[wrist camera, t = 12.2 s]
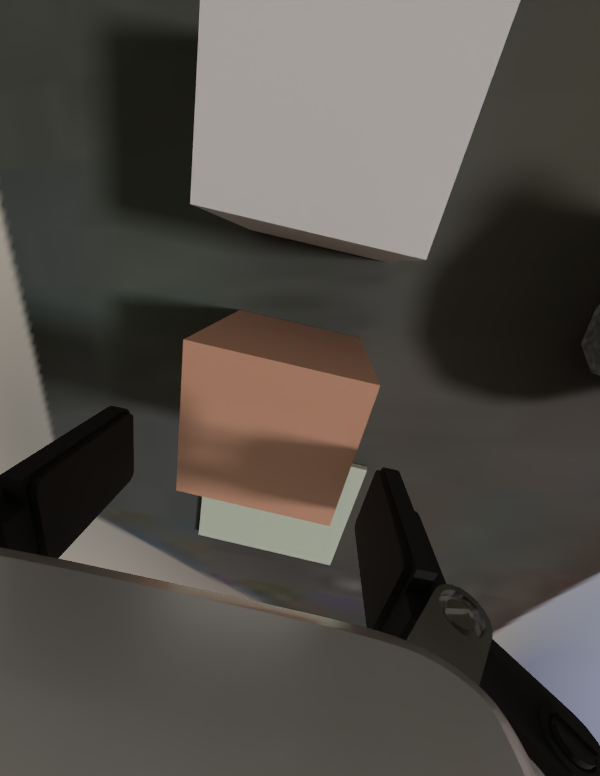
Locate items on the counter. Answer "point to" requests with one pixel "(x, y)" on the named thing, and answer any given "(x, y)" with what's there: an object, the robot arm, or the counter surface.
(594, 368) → the mortar and pestle
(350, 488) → the sage pad
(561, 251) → the counter surface
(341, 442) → the orange-brown cube
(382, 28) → the white cube
